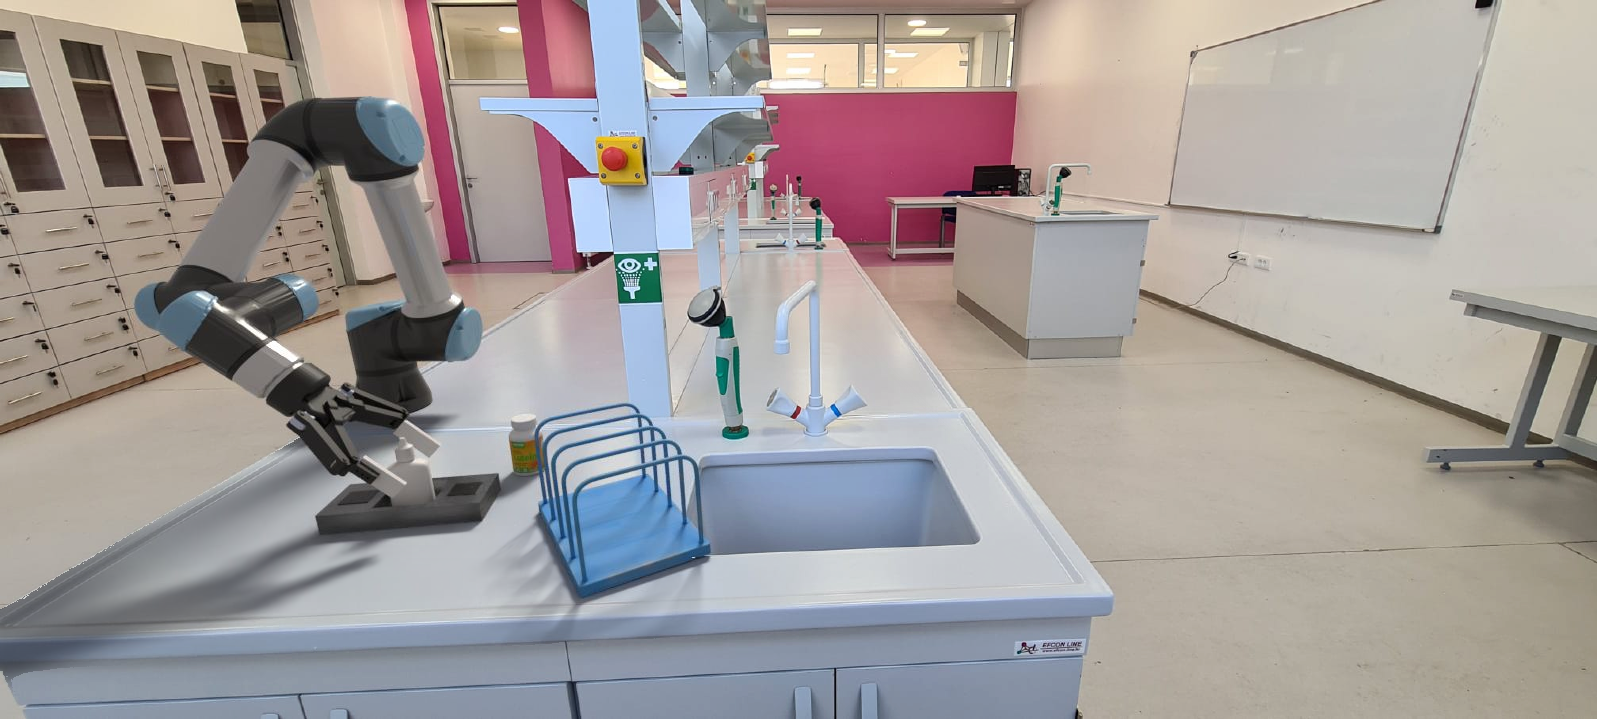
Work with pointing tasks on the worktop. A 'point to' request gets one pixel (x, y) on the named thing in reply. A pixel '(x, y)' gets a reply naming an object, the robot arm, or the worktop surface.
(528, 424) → the supplement bottle
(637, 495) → the file sorter
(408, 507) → the grey compartment tray
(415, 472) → the eye dropper bottle
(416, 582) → the worktop surface
